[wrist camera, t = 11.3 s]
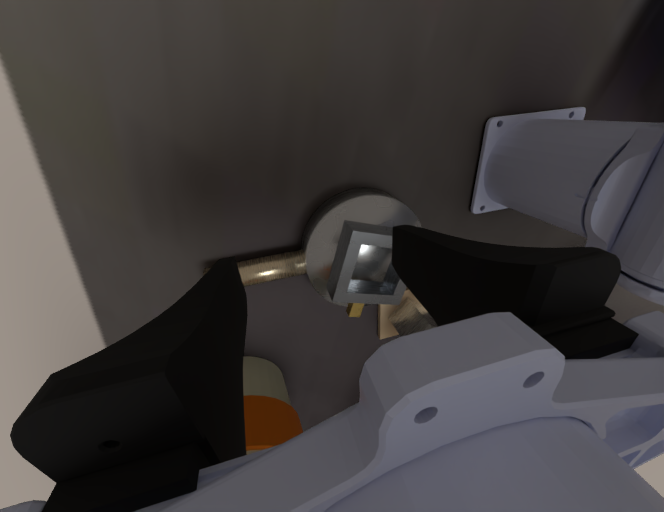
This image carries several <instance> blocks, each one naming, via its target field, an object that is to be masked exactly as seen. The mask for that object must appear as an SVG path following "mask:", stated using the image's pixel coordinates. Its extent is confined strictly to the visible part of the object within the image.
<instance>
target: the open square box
mask: <svg viewBox="0 0 664 512" xmlns="http://www.w3.org/2000/svg"><path fill="white" fill-rule="evenodd" d="M392 231H393V227H387V226H380V225H374V224H367V223H361V222H354V221H348V220H344V223H343V227H342V231H341V234H340V238H339V242H338V245H337V249H336V253H335V256H334V260H333V264H332V267H331V271H330V275H329V278H328V282H327V286H326V288H327V290H328V293H329V295H330V298H331V300H332V302H340V303H348V307H347V310H346V311H347V314H348V316H349V317H360V315H361V312H362V309H363V306H364V304H385V305H399V304H400V302H401V299H402V297H403V295H404V292H405V290H406V285H405V284H404V283H403V282H402V280H401V279H400V278H399V276H398V274H397V273H396V271H395V269H394V268H393V266H392V264H391V263H392V259H391V261H390V264H389V267H388V269H387V272H386V275H385V277H384V280H383V282H380V281H367V280H353V279H351V277H352V274H353V271H354V268H355V264H356V261H357V258H358V255H359V252H360V248H361V245H370V246H378V247H386V248H392Z"/></svg>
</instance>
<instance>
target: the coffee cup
mask: <svg viewBox="0 0 664 512" xmlns="http://www.w3.org/2000/svg"><path fill="white" fill-rule="evenodd" d="M605 306H606V307H608V308H610V309H612V310H614V311H615V313H616V314H615V316H614V317H611V318H613V319H614V320H616V321H618V322H619V323H621V324H623V323H624V322H626V321H627V320H628V319H630V318H633V317H636V316H639V315H642V314H646V313H649V312H652V311H660V312H662V313H664V306H662V305H659V304H656V303H653V302H651V301H648V300H646V299H643V298H641V297H639V296H637V295H634V294H632V293H631V292H629V291H627V290H625V289H624V288H622V287H621V286H619V285H618V284H617V283H616V285H615V287H614V289H613V290H612V292H611V294H610V296H609V298H608V300H607V302H606V303H605Z"/></svg>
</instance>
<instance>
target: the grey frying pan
mask: <svg viewBox="0 0 664 512" xmlns="http://www.w3.org/2000/svg"><path fill="white" fill-rule="evenodd" d="M344 220H348V221H354V222H361V223H367V224H374V225H380V226H387V227H394V226H399V225H404V224H406V225H412V226H416V227H420V228H422V227H421V224H420V222H419V220H418V218H417V216H416V215H415V213H414V212H413V211H412V210H411V209H410V208H409V207H407V206H406V205H405V204H403V203H402V202H400V201H399V200H397V199H395V198H394V197H392V196H391V195H389V194H387V193H385V192H383V191H380V190H378V189H373V188H354V189H350V190H346V191H343V192H341V193H338V194H336V195H335V196H333V197H331V198H330V199H328V200H327V201H325V202H324V203H323V204H322V205H321V206H320V207H319V208H318V209H317V210H316V211H315V212H314V213H313V215H312V216H311V218H310V219H309V221H308V223H307V225H306V227H305V230H304V233H303V237H302V243H301V250H297V251H292V252H287V253H282V254H277V255H271V256H266V257H261V258H256V259H251V260H245V261H240V262H236V263H237V266H238V269H239V272H240V276H241V279H242V282H243V286H244V287H245V286H250V285H255V284H259V283H264V282H269V281H274V280H279V279H283V278H288V277H293V276H298V275H303V274H308V277H309V280H310V282H311V284H312V286H313V287H314V289H315V290H316V291H317V292H318V293H319V294H320V295H321V296H322V297H323V298H325V299H326V300H328V301H330V302H332V300H331V298H330V295H329V293H328V290H327V288H326V286H327V282H328V278H329V275H330V271H331V267H332V264H333V260H334V256H335V253H336V249H337V245H338V242H339V238H340V234H341V231H342V227H343V223H344ZM391 259H392V248H386V247H378V246H370V245H361V248H360V252H359V255H358V258H357V261H356V264H355V268H354V271H353V274H352V277H351V279H353V280H367V281H380V282H383V280H384V277H385V275H386V272H387V269H388V267H389V264H390V261H391ZM211 268H212V267H209V268H205V269H204V272H203V276H204V275H205V274H206V273H207V272H208V271H209V270H210V269H211ZM332 303H334V304H337V305H341V306H347V307H348V303H340V302H332ZM366 305H370V304H364V306H366Z"/></svg>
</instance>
